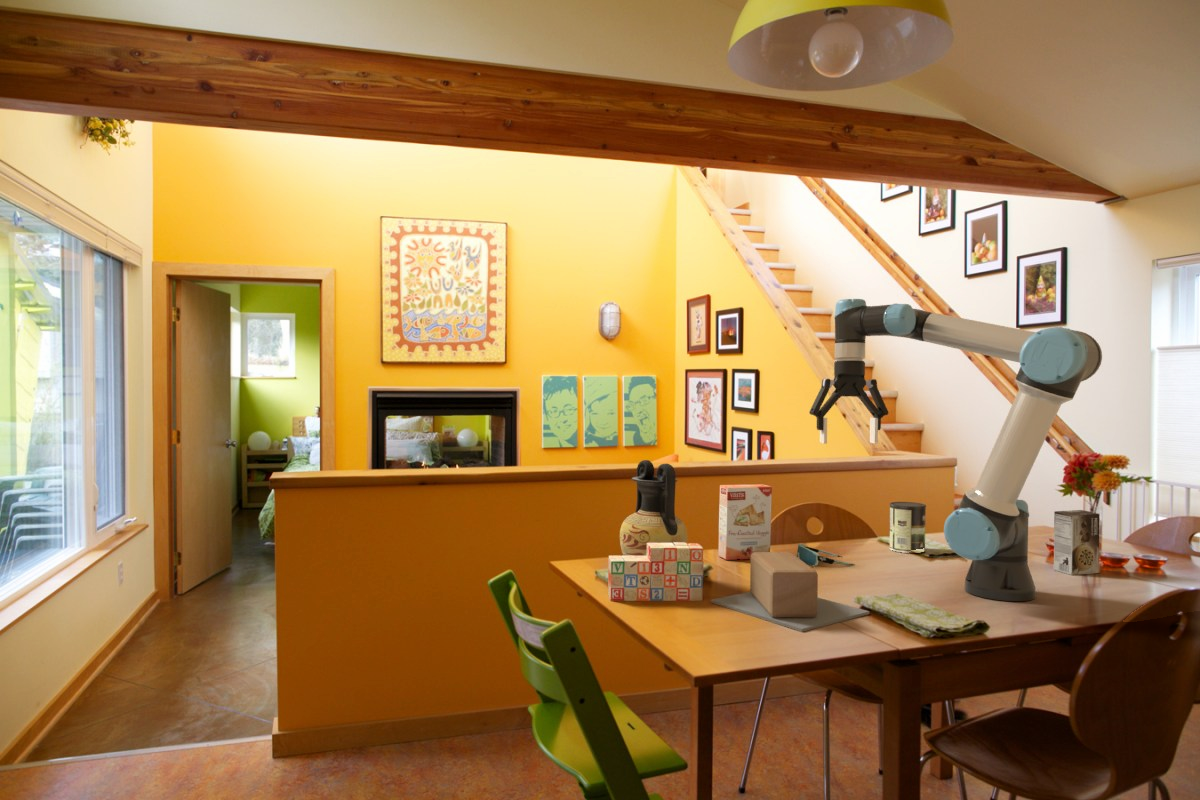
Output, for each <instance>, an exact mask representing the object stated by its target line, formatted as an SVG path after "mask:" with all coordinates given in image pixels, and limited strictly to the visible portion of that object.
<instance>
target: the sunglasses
mask: <svg viewBox="0 0 1200 800" xmlns="http://www.w3.org/2000/svg"><path fill="white" fill-rule="evenodd" d="M797 545H798V546H797V551H796V555H795V556H796V557H799V559H800V560H802V561H803V562H804V563H806V564H809V565H808V566H812V565H814V566H813V567H817V566H818V565H819V562H821V563H824V564H828V565H833V564H834V563H836V564H840V565H844V566H848V565H851V566H855V565H856V564H854V563H850V562H846V561H841V560H836V559H832V558H828V557H825V556H822V555H820V554H819V553H821V554H825V555H829V556H832V557H834V556H837V557H836V558H843V556H841V555H839V554H838V555H837V554H835V553H833V552H829V551H825V550H821V549H818V548H813V547H810V546H807V545H806V544H804V543H800V542H799V543H797Z"/></svg>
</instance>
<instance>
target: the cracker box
mask: <svg viewBox="0 0 1200 800" xmlns="http://www.w3.org/2000/svg"><path fill="white" fill-rule="evenodd" d="M772 491H773V486H771V485H766V484H763V483H762V484H761V483H759V484H720V485H719V502H718V503H719V505H718V507H719V509H718V554H717V555H718V557H719V558H721V559H724V560H725V561H736V560H737V559H740V560H751V554H752V553H754V552H771V535H772V534H771V533H772V530H771V528H772V500H773V499H772V494H773V493H772Z"/></svg>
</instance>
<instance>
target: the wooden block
mask: <svg viewBox="0 0 1200 800" xmlns="http://www.w3.org/2000/svg"><path fill="white" fill-rule="evenodd" d="M749 570H750V575H749V576H750V578H749V580H750V582H749V583H750V586H749V592H751V594H752V595H753V596H754V597H755V598H756V599H757V601H758V602H759V603H760V604H761V605H762V606H763V607H764V608H765V610H766V611H767V612H768V613H769V614H770V615H771V616H772V617H774V618H813V617H816V615H817V598H818V593H819V592H818V591H819V589H818V587H819V586H818V585H819V584H818V583H819V574H818V571H816V569H814V568H812V566H811V565H807V564H806V563H804V562H803V561H802V560H800V559H799V558H798V557H796V555H795V554H794V553H792V552H790V551H770V552H754V553H752V554H751V559H750V569H749Z"/></svg>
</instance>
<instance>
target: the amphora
mask: <svg viewBox="0 0 1200 800" xmlns="http://www.w3.org/2000/svg"><path fill="white" fill-rule="evenodd" d="M656 469H657V470H656V475H655V466H654V464H653V462H652V461H651V460H648V459H644V460H640V462H639V463H638V464H637V466H636V476H633V477H631V481H632V482H636V507H635V512H634V513H632V514H630V515H628V516H627V517H625V519H624V520H623V522H622V523H621V526H620V530H619V544H620V549H621V553H622V556H646V554H647V543H673V542H685V543H688V531H687V527H686V526H685V525H686V524H685V523H684V522H683V520H682V519H681V518H680V517H678V516H677V515H675V509H676V508H675V505H676V503H675V502H676V501H675V500H676V484H677V482H678V479H677V477H676V471H675V468H674V467H673V465H671V464H670V463H661V464H660V465H658V467H657V468H656Z"/></svg>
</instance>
